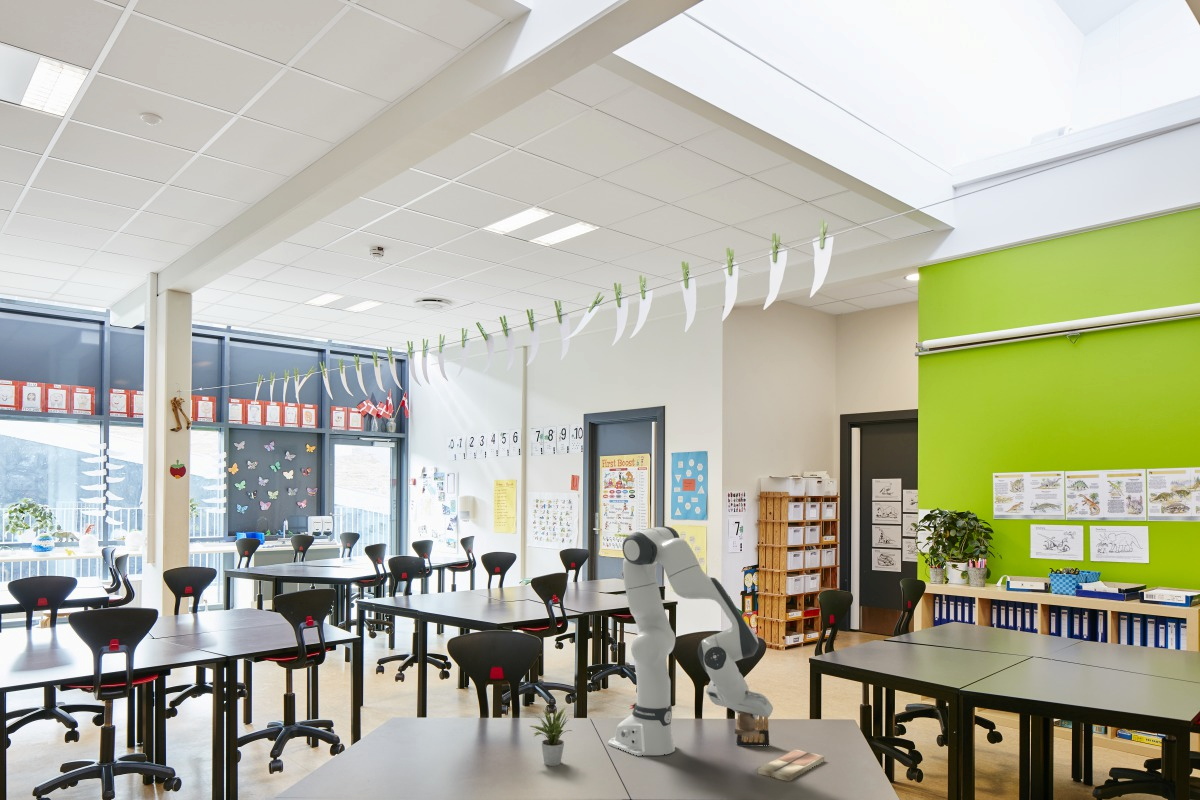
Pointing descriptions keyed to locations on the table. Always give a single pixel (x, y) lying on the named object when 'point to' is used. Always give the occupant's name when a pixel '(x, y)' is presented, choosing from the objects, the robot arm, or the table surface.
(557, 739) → the house plant
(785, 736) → the table surface
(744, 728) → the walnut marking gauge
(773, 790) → the table surface
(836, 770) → the table surface
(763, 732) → the ammunition clip
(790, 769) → the maple board
